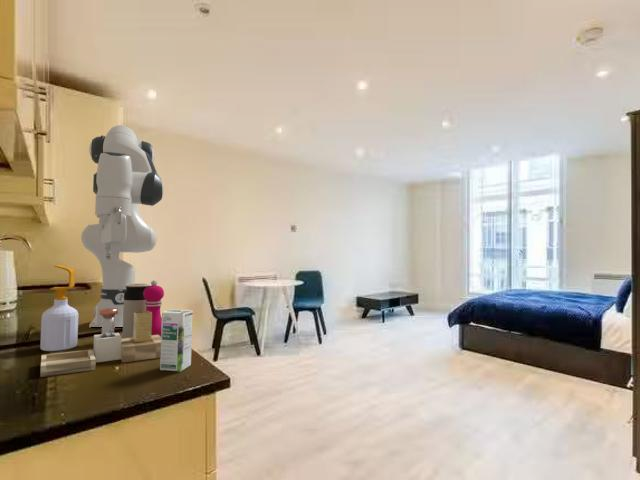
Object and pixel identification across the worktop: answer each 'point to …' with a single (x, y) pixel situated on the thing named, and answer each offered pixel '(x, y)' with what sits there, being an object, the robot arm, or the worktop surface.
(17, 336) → the worktop surface
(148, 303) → the pepper mill
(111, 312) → the pin
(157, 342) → the socket
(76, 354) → the shallow wooden tray
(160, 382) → the worktop surface
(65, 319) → the soap bottle
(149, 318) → the block
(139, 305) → the travel mug
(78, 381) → the worktop surface
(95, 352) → the pin guide
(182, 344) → the syrup box
